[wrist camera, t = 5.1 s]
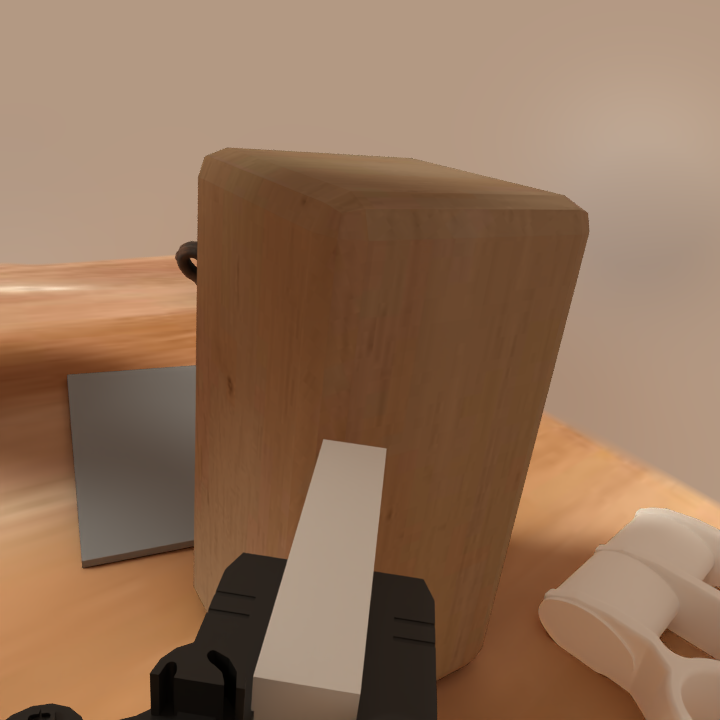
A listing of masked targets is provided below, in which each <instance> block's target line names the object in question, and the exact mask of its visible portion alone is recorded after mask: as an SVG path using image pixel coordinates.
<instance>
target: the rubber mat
mask: <svg viewBox="0 0 720 720" xmlns="http://www.w3.org/2000/svg"><path fill="white" fill-rule="evenodd" d="M67 380H68V393H69V405H70V418H71V431H72V443H73V456H74V469H75V481H76V494H77V507H78V519H79V532H80V545H81V557H82V568H84V567H89V566H95V565H100V564H105V563H110V562H115V561H120V560H125V559H131V558H136V557H141V556H146V555H151V554H156V553H162V552H167V551H172V550H177V549H182V548H187V547H192V546H194V501H195V414H196V365H193V366H180V367H166V368H152V369H139V370H125V371H112V372H98V373H84V374H71V375H67Z"/></svg>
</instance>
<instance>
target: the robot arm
mask: <svg viewBox="0 0 720 720" xmlns="http://www.w3.org/2000/svg"><path fill="white" fill-rule="evenodd" d="M386 450H387V449H386V448H380V447H373V446H366V445H359V444H353V443H346V442H339V441H332V440H326V439H323V442H322V446H321V449H320V452H319V456H318V459H317V463H316V466H315V469H314V473H313V476H312V479H311V483H310V486H309V490H308V493H307V496H306V500H305V503H304V507H303V510H302V513H301V517H300V520H299V523H298V527H297V530H296V534H295V537H294V540H293V544H292V547H291V550H290V554H289V557H288V559H282V558H276V557H269V556H263V555H256V554H250V553H244V552H243V553H242V554H241V555H240V556H239V557H238V558H237V559H236V560H234V561H233V562H232V563H231V564H230V565H229V566H228V567H227V568H226V569H225V570H224V573H223V575H222V578H221V580H220V582H219V585H218V587H217V589H216V593H215V595H214V596H213V599H212V601H211V603H210V606H209V609H208V613H206V615H205V618H204V620H203V622H202V625H201V627H200V629H199V632H198V634H197V637H196V639H195V641H194V643H191V644H188V645H184V646H181V647H178V648H176V649H174V650H173V651H171V652H170V653H168V654H167V655H165V656H164V657H163V658H161V659H160V660H159V662H158V663H157V665H156V666H155V667H154V669H153V670H152V671H151V673H150V692H151V709H150V710H147V711H145V712H143V713H141V714H139V715H137V716H133V717H129V718H125V719H121V720H437V689H436V648H435V643H436V641H435V600H434V598H433V596H432V595H431V593H430V591H429V589H428V587H427V585H426V583H425V581H424V579H420V578H414V577H408V576H401V575H395V574H388V573H382V572H376V571H374V562H375V553H376V544H377V534H378V525H379V516H380V506H381V497H382V488H383V478H384V469H385V460H386ZM6 720H83V719H82V717H81V716H80V715H79V714H77V713H76V712H75V711H74V710H72V709H71V708H70V707H66V706H61V705H57V704H45V705H38V706H32V707H29V708H27V709H25V710H23V711H20V712H18V713H16V714H13V715H11V716H10V717H9V718H8V719H6Z"/></svg>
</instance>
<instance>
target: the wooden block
mask: <svg viewBox="0 0 720 720" xmlns="http://www.w3.org/2000/svg"><path fill="white" fill-rule="evenodd" d="M588 235H589V220H588V213H587V212H586V211H585V210H583V209H582V208H580V207H579V206H578V205H576V204H575V203H574V202H572V201H571V200H570V199H569V198H567V197H566V196H565V195H560V194H556V193H552V192H548V191H544V190H540V189H536V188H532V187H528V186H523V185H519V184H515V183H511V182H507V181H503V180H498V179H495V178H490V177H486V176H482V175H478V174H474V173H470V172H466V171H461V170H458V169H454V168H449V167H445V166H441V165H437V164H433V163H429V162H425V161H420V160H417V159H413V158H397V157H380V156H363V155H346V154H329V153H311V152H293V151H276V150H260V149H242V148H225V149H223V150H220V151H217V152H215V153H212V154H210V155H207V156H206V157H204V160H203V164H202V167H201V170H200V173H199V176H198V239H197V240H198V241H197V326H196V414H195V501H194V588H195V590H196V592H197V594H198V596H199V598H200V600H201V601H202V603H203V605H204V607H205V609H206V611H207V613H208V609H209V606H210V603H211V601H212V599H213V596H214V595H215V593H216V589H217V587H218V585H219V582H220V580H221V578H222V575H223V573H224V570H225V569H226V568H227V567H228V566H229V565H230V564H231V563H232V562H233V561H234V560H236V559H237V558H238V557H239V556H240V555H241V554H242V553H243V552H244V553H250V554H256V555H263V556H269V557H276V558H282V559H288V557H289V554H290V550H291V547H292V544H293V540H294V537H295V534H296V530H297V527H298V523H299V520H300V517H301V513H302V510H303V507H304V503H305V500H306V496H307V493H308V490H309V486H310V483H311V479H312V476H313V473H314V469H315V466H316V463H317V459H318V456H319V452H320V449H321V446H322V442H323V439H326V440H332V441H339V442H346V443H353V444H359V445H366V446H373V447H380V448H386V449H387V450H386V460H385V469H384V478H383V488H382V497H381V506H380V516H379V525H378V534H377V544H376V553H375V562H374V571H376V572H382V573H388V574H395V575H401V576H408V577H414V578H420V579H424V581H425V583H426V585H427V587H428V589H429V591H430V593H431V595H432V596H433V598H434V600H435V641H436V643H435V648H436V681H437V680H439V679H441V678H443V677H445V676H446V675H448V674H450V673H452V672H454V671H456V670H458V669H460V668H462V667H464V666H465V665H467V664H468V663H470V662H471V661H472V660H473V659H474V658H475V657H476V655H477V654H478V652H479V651H480V649H481V648H482V646H483V642H484V638H485V634H486V630H487V626H488V622H489V618H490V615H491V611H492V607H493V603H494V599H495V595H496V591H497V587H498V584H499V580H500V576H501V572H502V568H503V564H504V560H505V556H506V553H507V549H508V545H509V541H510V537H511V533H512V529H513V526H514V522H515V518H516V514H517V510H518V506H519V502H520V498H521V495H522V491H523V487H524V483H525V479H526V475H527V471H528V467H529V464H530V460H531V456H532V452H533V448H534V444H535V440H536V436H537V433H538V429H539V425H540V421H541V417H542V413H543V409H544V405H545V402H546V398H547V394H548V390H549V386H550V382H551V378H552V374H553V371H554V367H555V363H556V359H557V355H558V351H559V347H560V343H561V339H562V335H563V332H564V328H565V324H566V320H567V316H568V313H569V309H570V304H571V301H572V297H573V292H574V289H575V285H576V282H577V278H578V274H579V270H580V266H581V262H582V258H583V254H584V251H585V246H586V243H587V239H588Z"/></svg>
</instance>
